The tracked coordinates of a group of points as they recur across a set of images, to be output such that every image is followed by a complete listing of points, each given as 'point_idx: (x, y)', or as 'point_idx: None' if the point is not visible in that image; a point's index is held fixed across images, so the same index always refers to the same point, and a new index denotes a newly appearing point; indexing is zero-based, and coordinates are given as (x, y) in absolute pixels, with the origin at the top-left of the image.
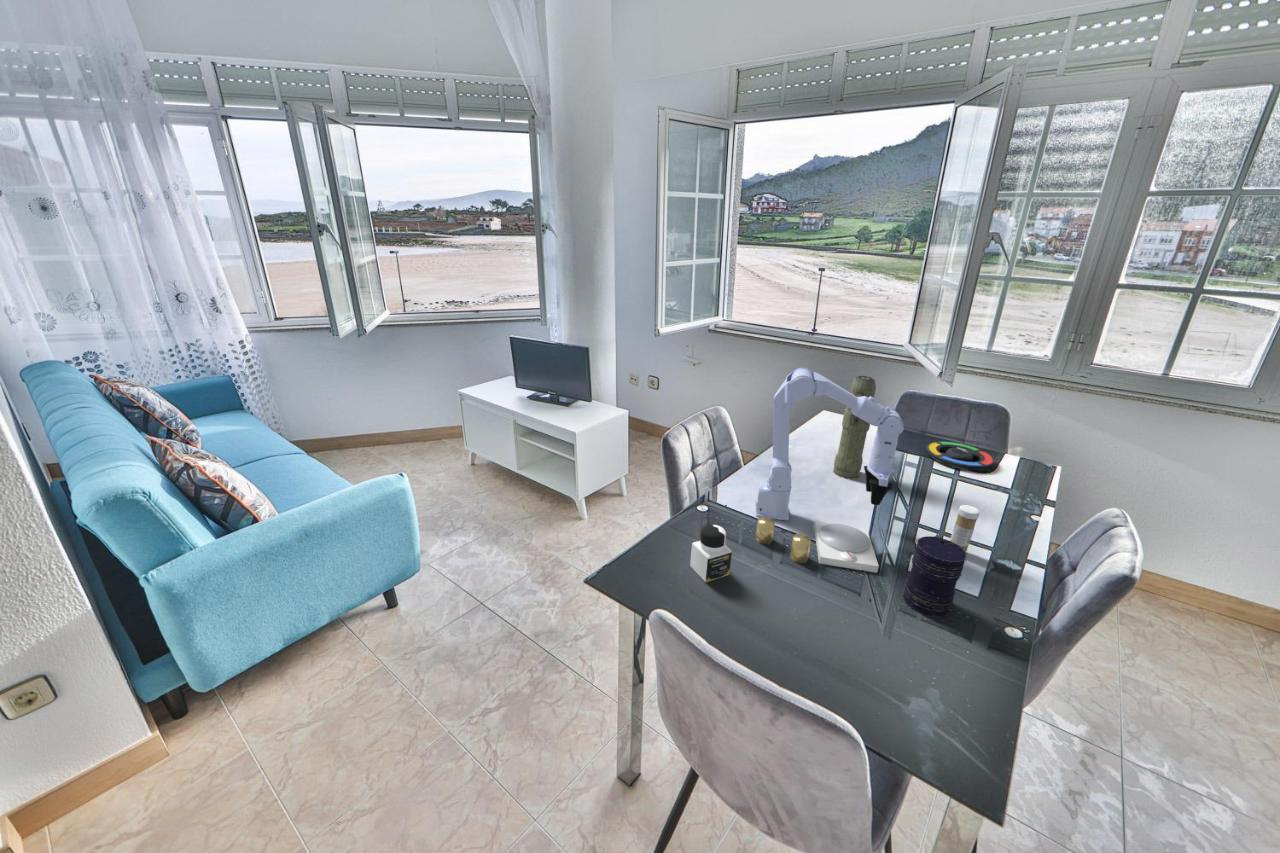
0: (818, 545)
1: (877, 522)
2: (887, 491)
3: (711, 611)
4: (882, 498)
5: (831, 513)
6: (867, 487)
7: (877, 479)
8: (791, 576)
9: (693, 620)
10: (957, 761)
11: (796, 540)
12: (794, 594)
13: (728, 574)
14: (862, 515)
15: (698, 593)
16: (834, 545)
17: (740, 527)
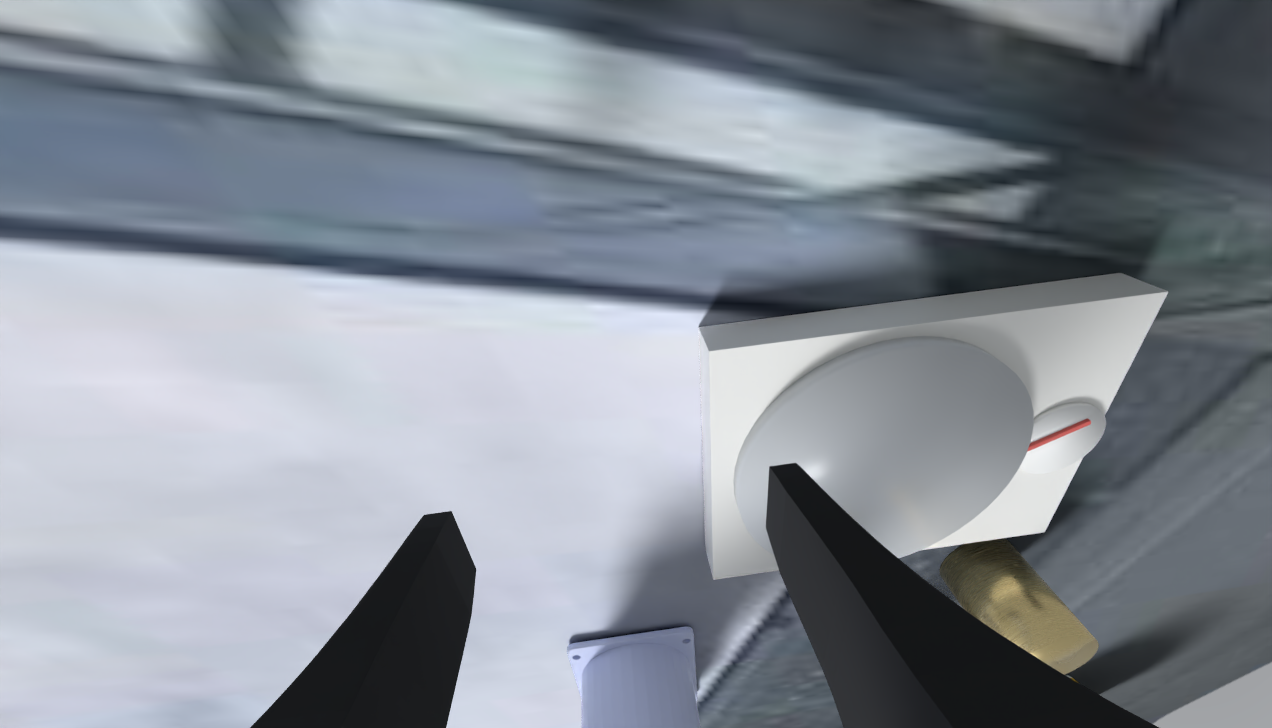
0: (941, 543)
1: (464, 239)
2: (1058, 675)
3: (1214, 665)
4: (873, 538)
5: (507, 497)
6: (466, 621)
7: (367, 721)
8: (1093, 563)
9: (1235, 679)
10: None
11: (1069, 671)
12: (1197, 544)
13: (1074, 679)
14: (414, 341)
15: (1136, 695)
16: (981, 507)
17: (790, 706)
